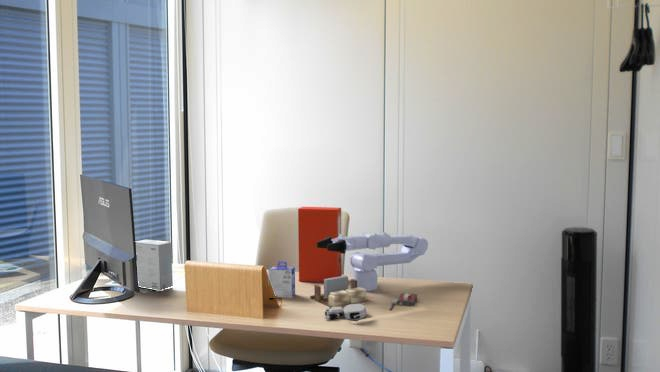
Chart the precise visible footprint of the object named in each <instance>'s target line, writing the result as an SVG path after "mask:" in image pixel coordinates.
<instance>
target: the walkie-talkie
mask: <svg viewBox="0 0 660 372" xmlns="http://www.w3.org/2000/svg"><path fill="white" fill-rule="evenodd" d="M417 302H418V294H415V293H411V292H402V293H400V295H399V297H398V298H393V299H392V300H391V302H390V303H391V304H390V305H391V306H390V308H389V311H393V309H394V307H395V306H405V307H414V306H415V304H416V303H417Z"/></svg>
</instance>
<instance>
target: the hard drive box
mask: <svg viewBox="0 0 660 372" xmlns="http://www.w3.org/2000/svg"><path fill="white" fill-rule="evenodd" d="M135 242H136V255H137V268H138V281H139V286H141V287H146V288H152V289H157V290H162V289H165V288H168V287H171V286H173V285H174V283H173V259H172V258H173V255H172V242H171V241H167V240H166V241H164V240H163V241H162V240H154V239H142V240H136V241H135ZM173 287H174V286H173Z"/></svg>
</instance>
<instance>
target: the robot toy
mask: <svg viewBox="0 0 660 372" xmlns="http://www.w3.org/2000/svg"><path fill="white" fill-rule="evenodd" d="M365 303H366V302H362V303H357V304H349V305H346V306H341V307H328V308H325V312H324V314H325V315H324V319H326V320H330V321H331V320H335V319H341V318H345V319H347V320H350V321H351V320H352V321H353V322H358V321H359V320H361V319H364V318H365V316H367V307H366V306H365Z"/></svg>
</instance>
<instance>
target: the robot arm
mask: <svg viewBox="0 0 660 372" xmlns="http://www.w3.org/2000/svg"><path fill="white" fill-rule="evenodd" d="M391 245H402V246H401V249H400V251H397V252H396V251H395V252H388V253H387V252H385V253H384V252H383V253H374V254H370V253H361V252H353V254H352V255H351V256H350V259H349V263H350V265H351V267H352V270H353V279H354V280H357V288H359V287H361V288H364V289H366V292H369V291H370V292H371V291H373V290H378V272H377V270H375V269H377V268H378V267H381V266H382V267H383V266H391V265H401V264H409V263H411V262H413V261H414V260H416V259H417V258H418V257H420V256H424V255H425V253H426V252H427V250H428V249H429V248H428V247H429V241H428V240H427V239H426V238H423V237H418V236H414V235H412V234H411V235H408V234H401V235H390V234H389V233H387V232H383V231H382V232H381V233H376V232H373V233H372V234H371V233H366V232H363V233H362V234H361V235H349V236H344V235H343V234H342V233H341V234H339V237H338V238H335V239H331V236H328V237H327V238H325V239H324V240H321V241H319V242H317V248H326V249H327V250H328V251H336V252H340V253H341V255H344V254H345V253H346V252H348V251H358V250H363V249H365V250H366V249H369V250H376V249H379V248H381V249H382V248H389V247H390V246H391Z"/></svg>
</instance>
